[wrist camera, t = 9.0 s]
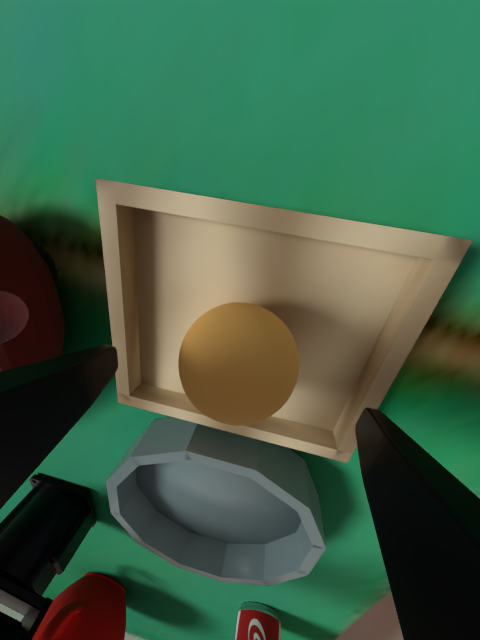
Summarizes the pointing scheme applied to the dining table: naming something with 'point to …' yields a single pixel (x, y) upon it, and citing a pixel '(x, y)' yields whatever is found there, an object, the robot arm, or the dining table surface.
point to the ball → (238, 363)
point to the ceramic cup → (86, 611)
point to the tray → (268, 302)
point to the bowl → (219, 503)
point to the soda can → (257, 622)
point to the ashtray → (27, 301)
